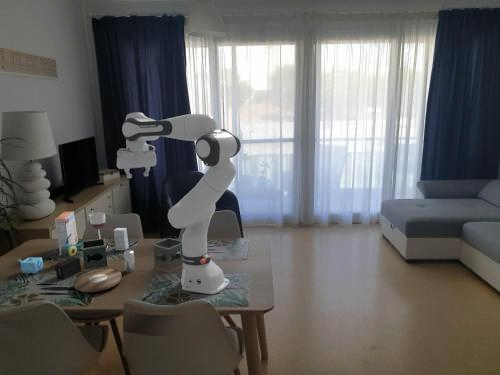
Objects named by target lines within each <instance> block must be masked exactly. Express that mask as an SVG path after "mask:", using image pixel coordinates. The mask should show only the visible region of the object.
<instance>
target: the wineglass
mask: <svg viewBox="0 0 500 375" xmlns="http://www.w3.org/2000/svg"><path fill="white" fill-rule="evenodd" d="M88 218H89V222H90V226H91V227H92V228H94V229H97V231H98V232H97V233H98V240H99V239H101V231H100V229H101V228H103V227H104V226H105V224H106V213H105V212H103V211H98V212H96V211H95V212H91V213H89V214H88ZM108 247H109V246H108V245H107V248H108Z"/></svg>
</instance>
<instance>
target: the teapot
mask: <svg viewBox="0 0 500 375" xmlns="http://www.w3.org/2000/svg"><path fill="white" fill-rule="evenodd" d="M17 261H18V262H19V263H20V269H21V274H25V275H29V274H32V275H36V274H37V273H39V272H41V270H43V269H44V261H43V257H27V258H26V259H24V260H22V259H17Z"/></svg>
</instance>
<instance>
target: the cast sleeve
mask: <svg viewBox="0 0 500 375" xmlns="http://www.w3.org/2000/svg"><path fill="white" fill-rule="evenodd" d="M123 256H124V266H125V272H126V273H129V274H130V273H135V271H136V264H135V263H136V262H135V261H136V260H135V252H134V250H133V249H127V250H123Z"/></svg>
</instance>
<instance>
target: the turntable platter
mask: <svg viewBox="0 0 500 375" xmlns="http://www.w3.org/2000/svg"><path fill="white" fill-rule="evenodd" d="M122 277H123V276H122V273H121V271H120V270H117V269H115V268H114V269H113V268H101V269H94V270H91V271H87V272H85V273H83V274H80V275H79V276H78V277H77V278H75V280H74V283H73V284H74V286H73V287H74V289H75V290H77V291H79V292H83V293H97V292H102V291H106V290H108V289H112V288H113V287H115V286H116V285H118V284H119V283H120V282H121V281H122ZM96 291H97V292H96Z"/></svg>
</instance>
